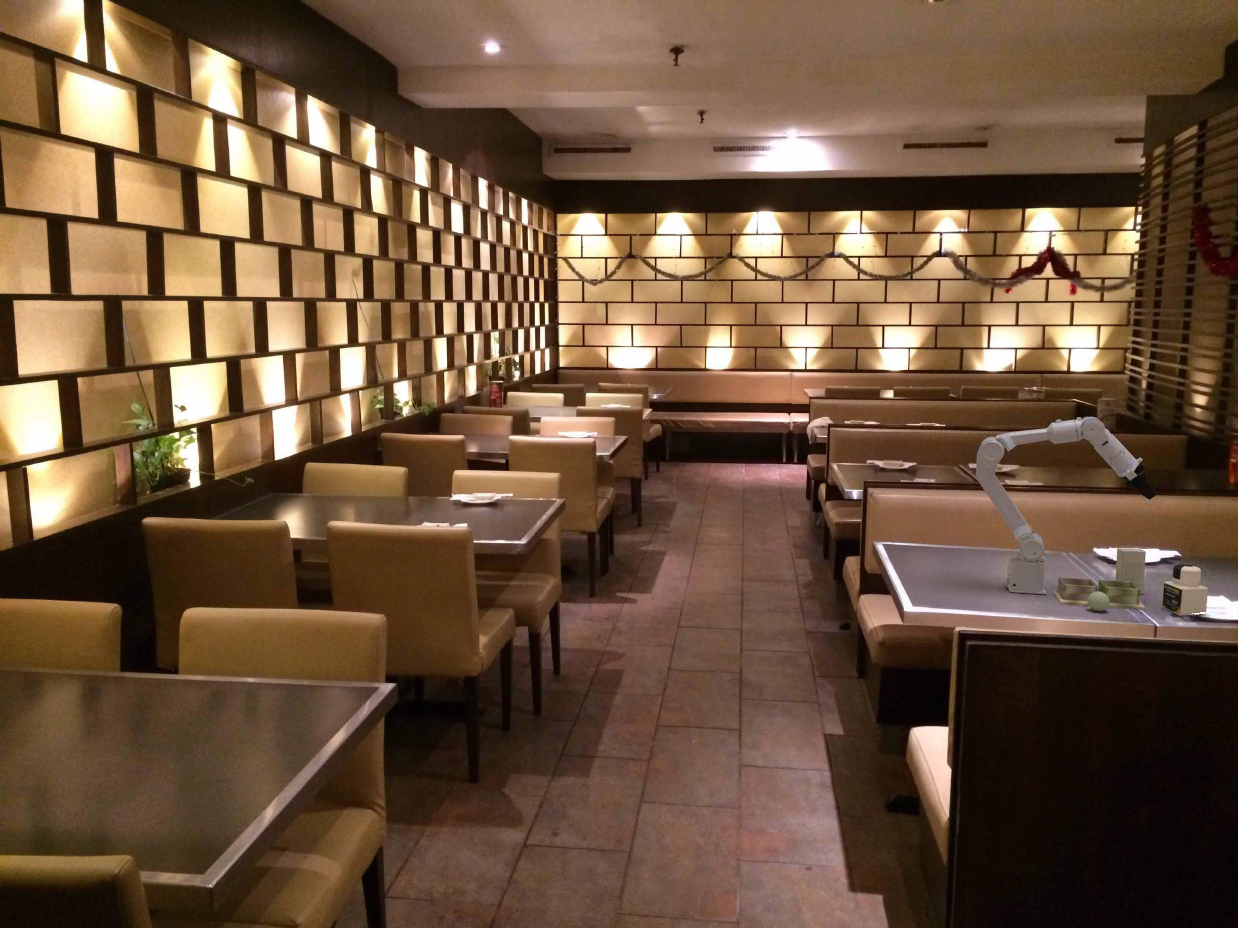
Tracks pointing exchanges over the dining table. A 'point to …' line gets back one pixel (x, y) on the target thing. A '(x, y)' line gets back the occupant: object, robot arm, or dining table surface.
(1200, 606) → the medicine bottle
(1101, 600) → the sage ball
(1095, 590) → the sorting board
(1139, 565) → the skincare box
